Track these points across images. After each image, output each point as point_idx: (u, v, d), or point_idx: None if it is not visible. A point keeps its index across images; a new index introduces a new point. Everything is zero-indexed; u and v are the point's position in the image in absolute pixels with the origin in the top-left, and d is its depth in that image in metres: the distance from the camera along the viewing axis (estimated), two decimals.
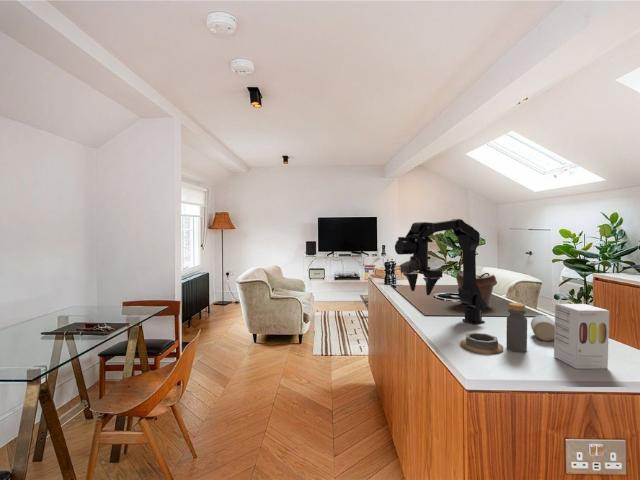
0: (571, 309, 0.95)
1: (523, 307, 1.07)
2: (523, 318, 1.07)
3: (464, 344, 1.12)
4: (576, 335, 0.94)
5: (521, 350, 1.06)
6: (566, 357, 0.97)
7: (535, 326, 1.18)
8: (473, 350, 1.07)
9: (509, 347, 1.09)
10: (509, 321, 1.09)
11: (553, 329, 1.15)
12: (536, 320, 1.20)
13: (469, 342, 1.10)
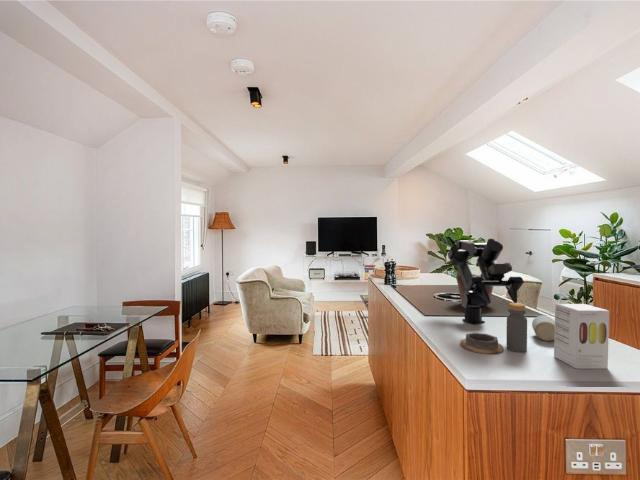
0: (571, 309, 0.95)
1: (523, 307, 1.07)
2: (523, 318, 1.07)
3: (464, 344, 1.12)
4: (576, 335, 0.94)
5: (521, 350, 1.06)
6: (566, 357, 0.97)
7: (536, 326, 1.18)
8: (473, 350, 1.07)
9: (509, 347, 1.09)
10: (509, 321, 1.09)
11: (554, 329, 1.15)
12: (537, 320, 1.20)
13: (469, 342, 1.10)
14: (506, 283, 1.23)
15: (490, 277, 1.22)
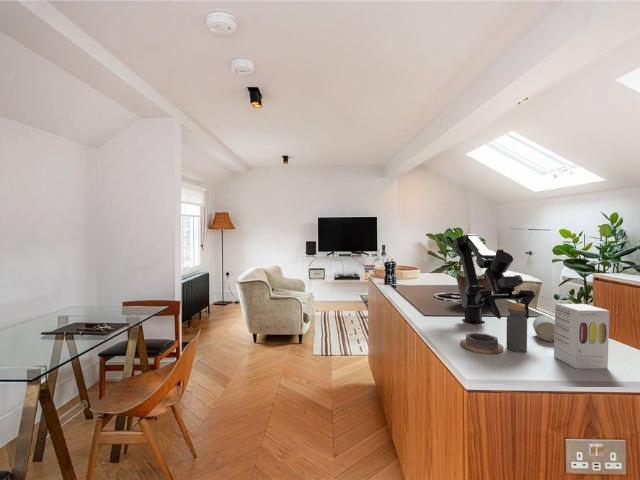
0: (571, 309, 0.95)
1: (523, 307, 1.07)
2: (523, 318, 1.07)
3: (464, 344, 1.12)
4: (576, 335, 0.94)
5: (521, 350, 1.06)
6: (566, 357, 0.97)
7: (537, 326, 1.18)
8: (473, 350, 1.07)
9: (509, 347, 1.09)
10: (509, 321, 1.09)
11: None
12: (538, 320, 1.20)
13: (469, 342, 1.10)
14: (516, 297, 1.16)
15: (500, 290, 1.16)
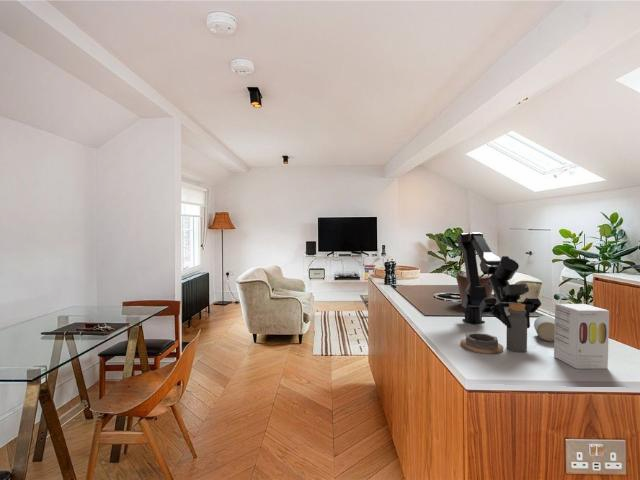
0: (571, 309, 0.95)
1: (523, 307, 1.07)
2: (523, 318, 1.07)
3: (464, 344, 1.12)
4: (576, 335, 0.94)
5: (521, 350, 1.06)
6: (566, 357, 0.97)
7: (538, 326, 1.18)
8: (473, 350, 1.07)
9: (509, 347, 1.09)
10: (509, 321, 1.09)
11: None
12: (539, 320, 1.20)
13: (469, 342, 1.10)
14: None
15: (505, 298, 1.12)
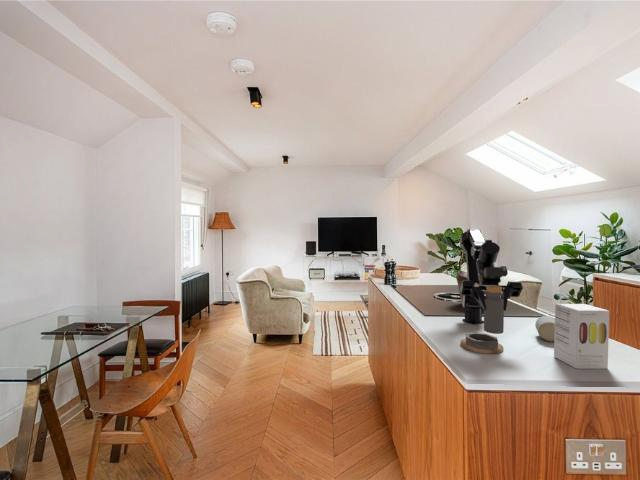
0: (571, 309, 0.95)
1: (498, 289, 1.08)
2: (498, 300, 1.08)
3: (464, 344, 1.12)
4: (576, 335, 0.94)
5: (495, 332, 1.08)
6: (566, 357, 0.97)
7: (540, 327, 1.17)
8: (473, 350, 1.07)
9: (485, 328, 1.10)
10: None
11: None
12: (540, 321, 1.20)
13: (469, 342, 1.10)
14: (503, 288, 1.13)
15: (484, 281, 1.14)
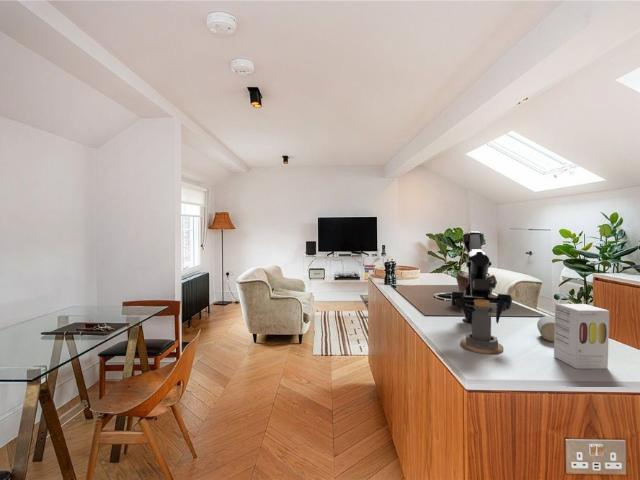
0: (571, 309, 0.95)
1: (485, 303, 1.09)
2: (484, 314, 1.09)
3: (464, 344, 1.12)
4: (576, 335, 0.94)
5: None
6: (566, 357, 0.97)
7: (542, 327, 1.17)
8: (473, 350, 1.07)
9: None
10: (472, 316, 1.12)
11: None
12: (542, 321, 1.19)
13: (469, 342, 1.10)
14: (493, 300, 1.14)
15: (474, 293, 1.15)
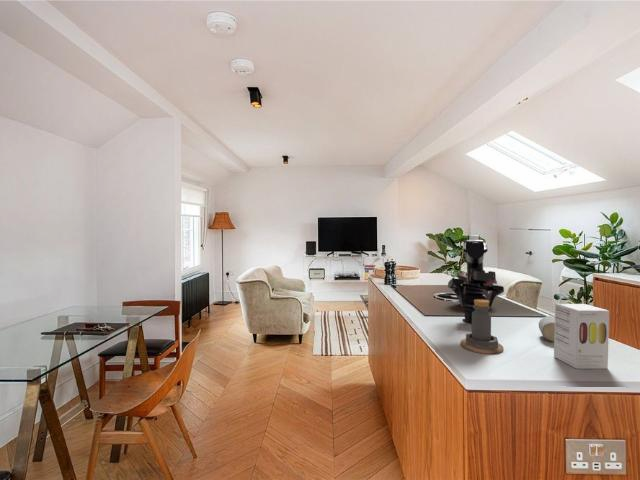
0: (571, 309, 0.95)
1: (485, 303, 1.09)
2: (484, 314, 1.09)
3: (464, 344, 1.12)
4: (576, 335, 0.94)
5: None
6: (566, 357, 0.97)
7: (543, 327, 1.17)
8: (473, 350, 1.07)
9: None
10: (472, 316, 1.12)
11: None
12: (544, 321, 1.19)
13: (469, 342, 1.10)
14: (486, 288, 1.24)
15: (472, 281, 1.23)
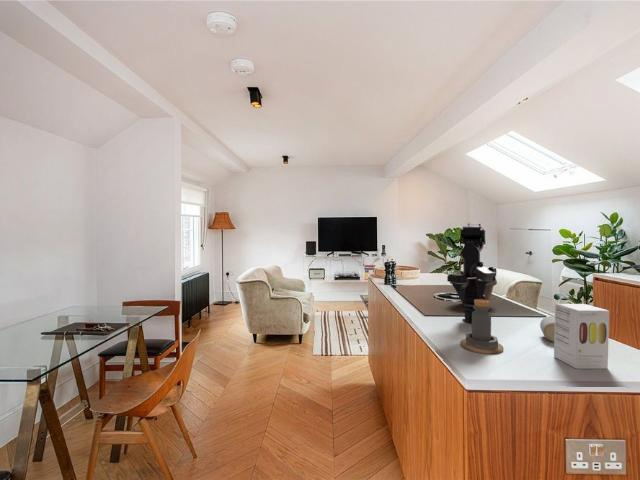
0: (571, 309, 0.95)
1: (485, 303, 1.09)
2: (485, 314, 1.09)
3: (464, 344, 1.12)
4: (576, 335, 0.94)
5: None
6: (566, 357, 0.97)
7: (545, 327, 1.17)
8: (473, 350, 1.07)
9: None
10: (472, 316, 1.12)
11: None
12: (545, 321, 1.19)
13: (469, 342, 1.10)
14: None
15: (472, 276, 1.22)
